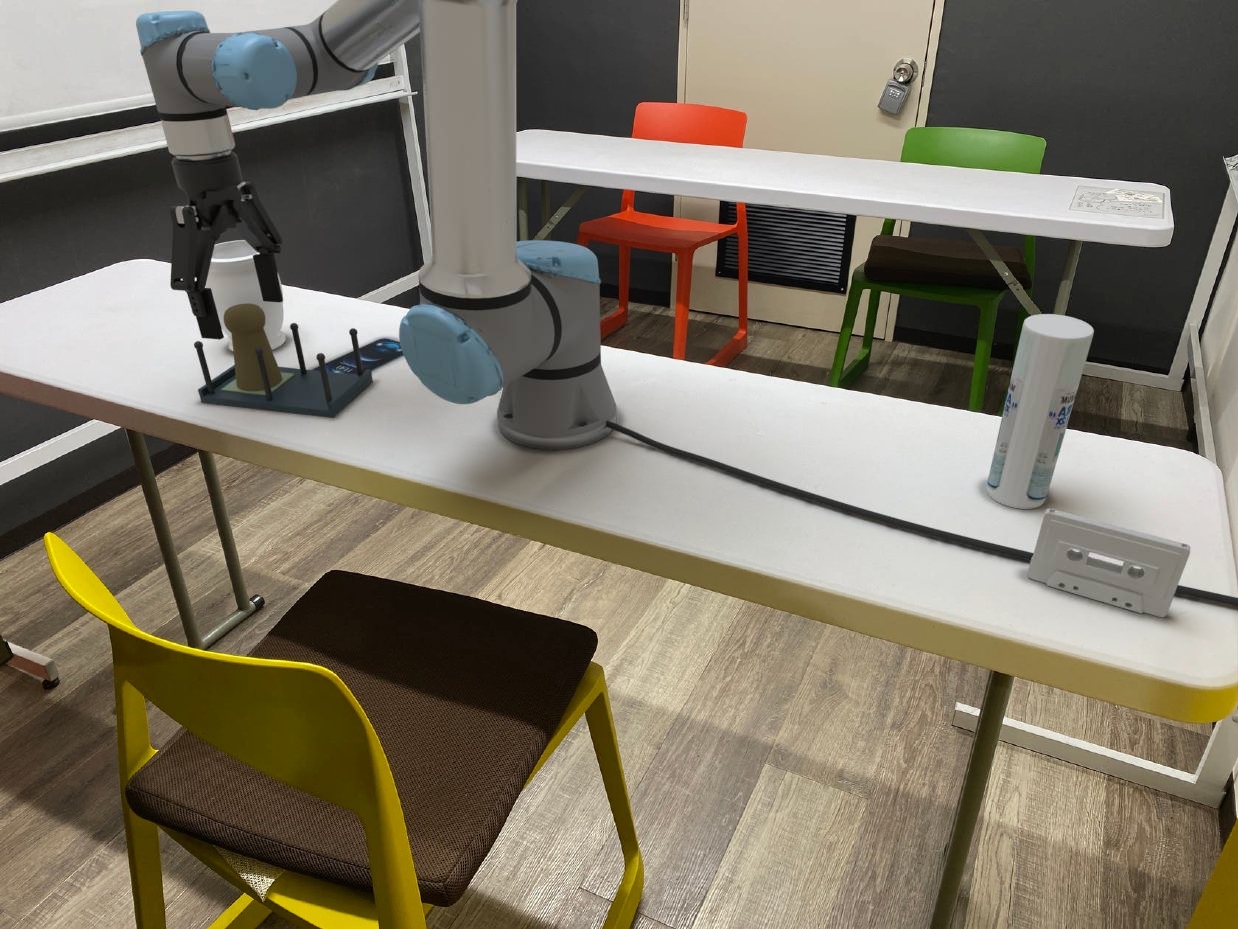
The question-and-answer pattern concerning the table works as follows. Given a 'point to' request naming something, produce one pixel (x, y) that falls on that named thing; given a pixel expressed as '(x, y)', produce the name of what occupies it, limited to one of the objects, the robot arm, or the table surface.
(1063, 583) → the cassette
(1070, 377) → the spray can
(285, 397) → the drying rack
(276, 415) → the table surface
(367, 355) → the smartphone
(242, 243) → the jar
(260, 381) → the cork
